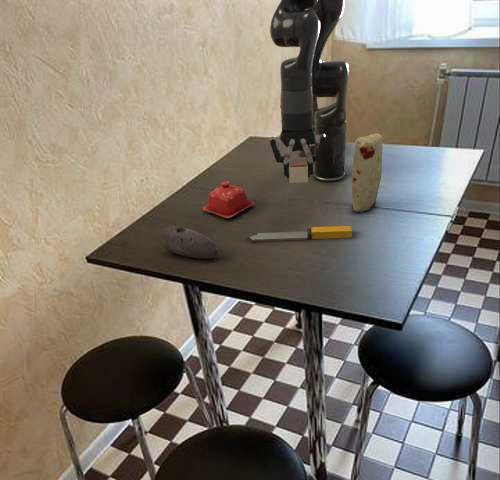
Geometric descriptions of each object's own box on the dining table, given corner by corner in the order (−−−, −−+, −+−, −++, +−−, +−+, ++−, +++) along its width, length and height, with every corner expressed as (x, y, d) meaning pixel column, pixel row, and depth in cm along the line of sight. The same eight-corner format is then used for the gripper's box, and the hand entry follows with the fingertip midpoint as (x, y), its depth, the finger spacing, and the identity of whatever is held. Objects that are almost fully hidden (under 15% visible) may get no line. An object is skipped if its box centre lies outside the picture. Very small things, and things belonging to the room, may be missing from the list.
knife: (249, 242, 125) (248, 235, 124) (250, 235, 128) (249, 228, 127) (352, 238, 122) (352, 231, 121) (350, 232, 125) (351, 225, 124)
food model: (365, 217, 131) (369, 143, 119) (344, 211, 134) (346, 138, 123) (384, 203, 136) (390, 131, 124) (363, 198, 140) (367, 127, 128)
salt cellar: (289, 183, 123) (288, 166, 120) (289, 174, 128) (289, 157, 125) (307, 182, 123) (307, 165, 120) (307, 173, 127) (307, 156, 124)
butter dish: (200, 212, 141) (196, 184, 136) (228, 197, 148) (225, 170, 142) (228, 222, 134) (225, 194, 129) (256, 207, 141) (254, 179, 136)
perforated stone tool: (224, 256, 120) (221, 231, 116) (212, 267, 117) (208, 242, 113) (176, 244, 127) (171, 220, 123) (163, 254, 124) (158, 230, 119)
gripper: (326, 101, 117) (326, 169, 127) (267, 105, 119) (271, 172, 129) (328, 110, 111) (327, 181, 121) (265, 114, 113) (270, 184, 123)
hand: (298, 176), depth 125 cm, fingers closed on salt cellar, 4 cm apart
